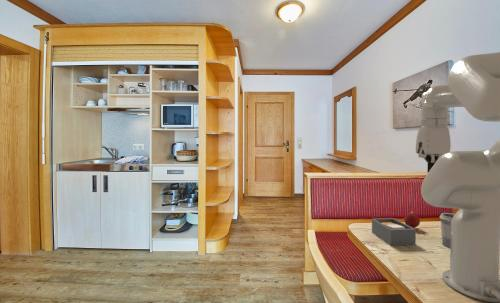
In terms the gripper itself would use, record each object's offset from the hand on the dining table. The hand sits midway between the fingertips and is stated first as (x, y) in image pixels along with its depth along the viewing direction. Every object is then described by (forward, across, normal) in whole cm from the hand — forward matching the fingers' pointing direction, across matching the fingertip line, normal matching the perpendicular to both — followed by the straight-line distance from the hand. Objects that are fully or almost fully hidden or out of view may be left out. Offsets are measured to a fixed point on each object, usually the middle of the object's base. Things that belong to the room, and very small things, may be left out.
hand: (433, 173), depth 82 cm
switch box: (+29, +9, -9) cm, 31 cm away
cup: (+29, -8, -1) cm, 30 cm away
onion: (+29, -7, -18) cm, 35 cm away
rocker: (+24, +9, -9) cm, 27 cm away
